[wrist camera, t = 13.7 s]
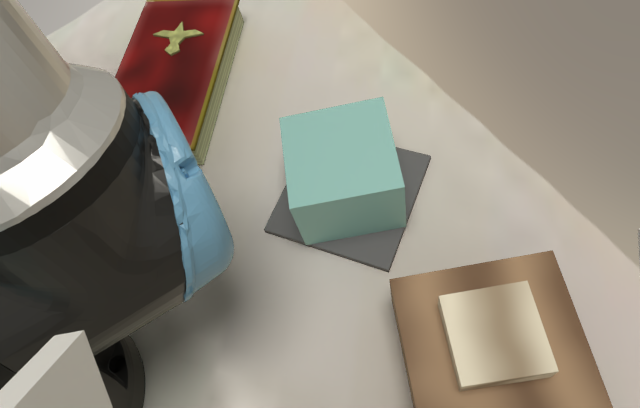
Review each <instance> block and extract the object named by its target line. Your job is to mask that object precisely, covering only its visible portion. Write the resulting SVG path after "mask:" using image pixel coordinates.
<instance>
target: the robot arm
mask: <svg viewBox="0 0 640 408" xmlns="http://www.w3.org/2000/svg"><path fill="white" fill-rule="evenodd" d="M638 239H639V261H640V229H638ZM233 254H234V244H233V239H232V236H231V233H230V231H229V228H228V226H227V223H226V221H225V218H224V216H223V214H222V212H221V209H220V207H219V205H218V203H217V201H216V199H215V196H214V194H213V192H212V190H211V188H210V186H209V184H208V182H207V180H206V178H205V176H204V174H203V172H202V170H201V169H200V168H199V167H198V165H197V160H196V158H195V157H194V155H193V153H192V151H191V148H190V146H189V144H188V142H187V140H186V138H185V136H184V134H183V132H182V130H181V128H180V126H179V124H178V122H177V121H176V119H175V117H174V115H173V113H172V112H171V110H170V108H169V106H168V105H167V103H166V102H165V100H164V99H163V97H162V96H161V95H160V94H159V93H158V92H155V91H148V92H145V93H140V92H139V93H138V94H137V93H135V94H134V95H133V96H132V98H130V97H129V95H128V94H127V93H126V91H125V90H124V88H123V87H122V86H121V84H120V83H119V81H118V80H117V79H116V78H115V77H114V76H113V75H111V74H110V73H109V72H107V71H105V70H102V69H99V68H95V67H89V66H82V65H76V64H70V63H67V62H65V61H64V60H63V58H62V57H61V56H60V55H59V53H58V52H57V51H56V49H55V48H54V47H53V46H52V44H51V43H50V42H49V40H48V39H47V38H46V37H45V35H44V34H43V33H42V31H41V30H40V29H39V28H38V26H37V25H36V24H35V23H34V21H33V20H32V19H31V17H30V16H29V15H28V13H27V12H26V11H25V10H24V8H23V7H22V6H21V4H20V3H19V2H18V0H0V408H142V406H143V400H144V391H145V378H144V369H143V364H142V360H141V357H140V354H139V352H138V349H137V347H136V345H135V344H134V342H133V340H132V339H131V338H130V336H129V334H131V333H133V332H134V331H136V330H138V329H139V328H141V327H143V326H144V325H146V324H148V323H149V322H151V321H153V320H154V319H156V318H157V317H159V316H161V315H162V314H164V313H166V312H167V311H169V310H171V309H172V308H174V307H176V306H177V305H179V304H181V303H182V302H186V301H187V300H189V299H190V298H191V297H192V296H193V293H195V292H196V291H197V290H199V289H200V288H202V287H203V286H204V285H206V284H207V283H208V282H210V281H211V280H213V279H214V278H215V277H217V276H218V275H220V274H221V273H222V272H224V271H225V269H226V268H227V267H228V265H229V264H230V262H231V260H232V258H233Z"/></svg>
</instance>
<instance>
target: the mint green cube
mask: <svg viewBox="0 0 640 408" xmlns="http://www.w3.org/2000/svg"><path fill="white" fill-rule="evenodd" d="M279 119H280V128H281V138H282V147H283V156H284V165H285V174H286V183H287V193H288V202H289V209H290V212H291V214H292V216H293V218H294V220H295V223H296V225H297V227H298V229H299V231H300V234H301V236H302V238H303V240H304V242H305V244H306V245H310V244H315V243H321V242H326V241H332V240H337V239H343V238H348V237H354V236H359V235H365V234H370V233H375V232H381V231H386V230H392V229H397V228H403V227H406V205H405V185H404V181H403V177H402V173H401V169H400V165H399V160H398V156H397V152H396V148H395V144H394V140H393V136H392V131H391V127H390V123H389V119H388V115H387V111H386V107H385V103H384V98H383V97H380V98H375V99H370V100H365V101H360V102H355V103H350V104H345V105H340V106H336V107H331V108H326V109H321V110H316V111H311V112H306V113H301V114H296V115H291V116H287V117H282V118H279Z"/></svg>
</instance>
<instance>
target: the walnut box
mask: <svg viewBox="0 0 640 408" xmlns="http://www.w3.org/2000/svg"><path fill="white" fill-rule="evenodd" d="M390 288H391V296H392V302H393V307H394V312H395V317H396V322H397V327H398V332H399V337H400V342H401V347H402V352H403V357H404V361H405V366H406V371H407V376H408V381H409V386H410V391H411V396H412V401H413V406H414V408H613V406H612V404H611V401H610V399H609V396H608V393H607V391H606V388H605V386H604V383H603V380H602V378H601V375H600V373H599V370H598V367H597V365H596V362H595V360H594V357H593V354H592V352H591V349H590V346H589V344H588V341H587V339H586V336H585V333H584V331H583V328H582V326H581V323H580V320H579V318H578V315H577V313H576V310H575V307H574V305H573V302H572V300H571V297H570V294H569V292H568V289H567V286H566V284H565V281H564V279H563V276H562V273H561V271H560V268H559V266H558V263H557V260H556V258H555V255H554V253H553V251H547V252H541V253H536V254H530V255H524V256H519V257H513V258H508V259H502V260H496V261H491V262H485V263H479V264H474V265H468V266H462V267H457V268H451V269H445V270H440V271H434V272H429V273H423V274H417V275H412V276H406V277H400V278H395V279H390Z"/></svg>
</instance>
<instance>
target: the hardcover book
mask: <svg viewBox="0 0 640 408" xmlns="http://www.w3.org/2000/svg"><path fill="white" fill-rule="evenodd" d="M239 1H240V0H147V1H146V3H145V6H144V8H143V11H142V13H141V16H140V18H139V20H138V23H137V25H136V28H135V30H134V32H133V35H132V37H131V40H130V42H129V45H128V47H127V49H126V52H125V54H124V57H123V59H122V61H121V64H120V66H119V69H118V71H117V74H116V76H115V78H116V79H117V80H118V81H119V83H120V84H121V86H122V87H123V88H124V90H125V91H126V93H127V94H128V95H129V97H130V98H132V96H133V95H134V94H135V93H137V94H138V93H139V92H140V93H145V92H148V91H155V92H158V93H159V94H160V95H161V96H162V97H163V99H164V100H165V102H166V103H167V105H168V106H169V108H170V110H171V112H172V113H173V115H174V117H175V119H176V121H177V122H178V124H179V126H180V128H181V130H182V132H183V134H184V136H185V138H186V140H187V142H188V144H189V146H190V148H191V151H192V153H193V155H194V157H195V158H196V160H197V165H204V162H205V158H206V155H207V151H208V148H209V144H210V140H211V137H212V133H213V130H214V126H215V123H216V119H217V116H218V112H219V109H220V105H221V102H222V98H223V94H224V91H225V87H226V84H227V80H228V77H229V73H230V70H231V66H232V63H233V59H234V56H235V52H236V48H237V45H238V41H239V38H240V34H241V31H242V27H243V24H244V21H243V18H242V16H241V13H240V10H239V8H238V5H239Z"/></svg>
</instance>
